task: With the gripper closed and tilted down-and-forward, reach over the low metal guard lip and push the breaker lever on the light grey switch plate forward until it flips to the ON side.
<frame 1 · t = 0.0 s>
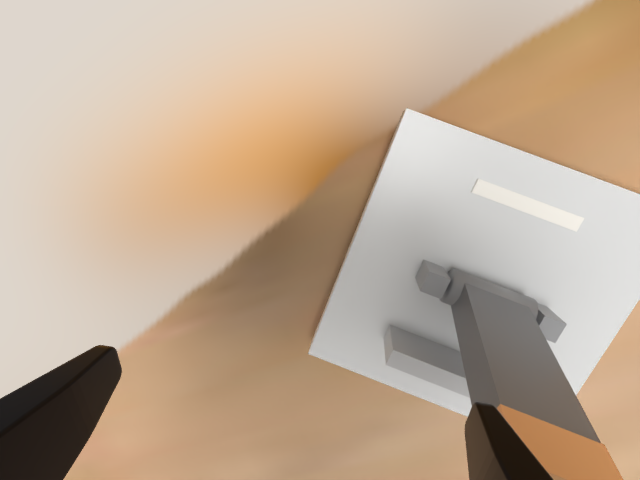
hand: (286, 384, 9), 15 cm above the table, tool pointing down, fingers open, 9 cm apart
switch plate: (471, 280, 24), on the table
breaker lever: (509, 361, 16), point 8 cm above the table, hinge at -12.0°
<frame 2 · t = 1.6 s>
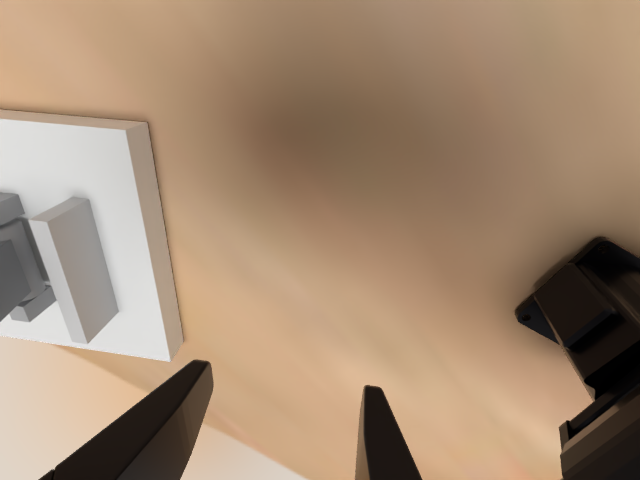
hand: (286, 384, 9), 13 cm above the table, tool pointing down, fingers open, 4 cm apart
switch plate: (54, 235, 25), on the table
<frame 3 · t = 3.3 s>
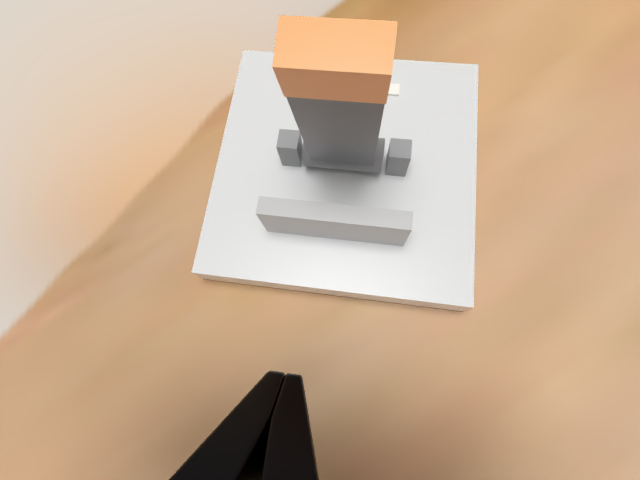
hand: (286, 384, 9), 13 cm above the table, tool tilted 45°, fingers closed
switch plate: (343, 176, 25), on the table
breaker lever: (340, 119, 17), point 8 cm above the table, hinge at -12.0°
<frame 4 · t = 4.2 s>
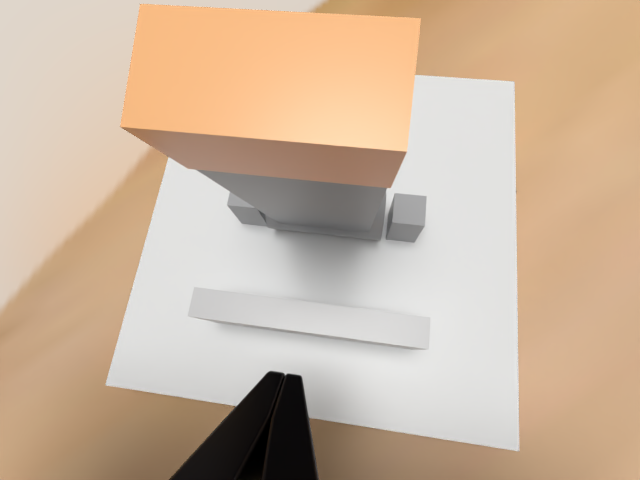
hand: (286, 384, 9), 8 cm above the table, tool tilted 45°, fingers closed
switch plate: (329, 233, 18), on the table
breaker lever: (314, 182, 10), point 8 cm above the table, hinge at -12.0°
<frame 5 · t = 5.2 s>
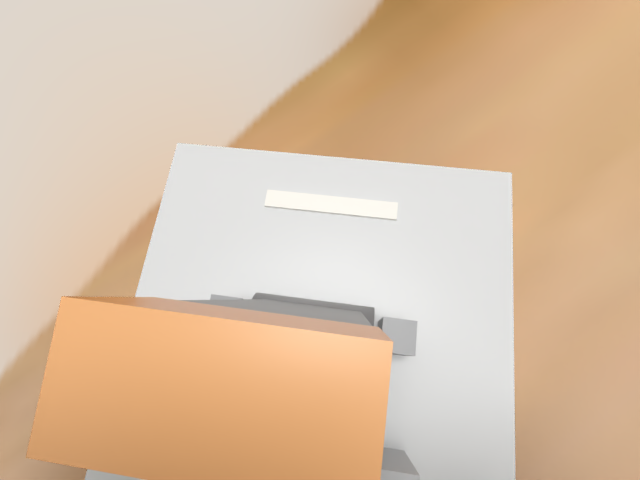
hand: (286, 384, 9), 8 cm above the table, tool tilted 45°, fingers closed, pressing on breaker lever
switch plate: (317, 330, 17), on the table
breaker lever: (292, 339, 10), point 8 cm above the table, hinge at -8.0°, touching gripper
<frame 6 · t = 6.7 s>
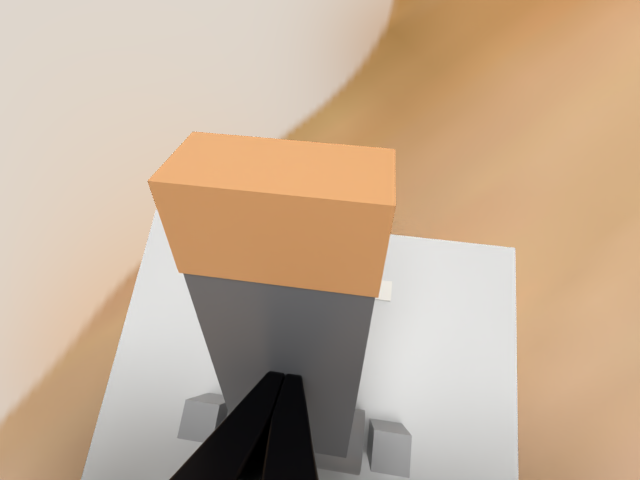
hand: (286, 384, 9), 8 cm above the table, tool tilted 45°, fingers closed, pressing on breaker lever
switch plate: (305, 416, 16), on the table
breaker lever: (291, 356, 10), point 7 cm above the table, hinge at 32.0°, touching gripper
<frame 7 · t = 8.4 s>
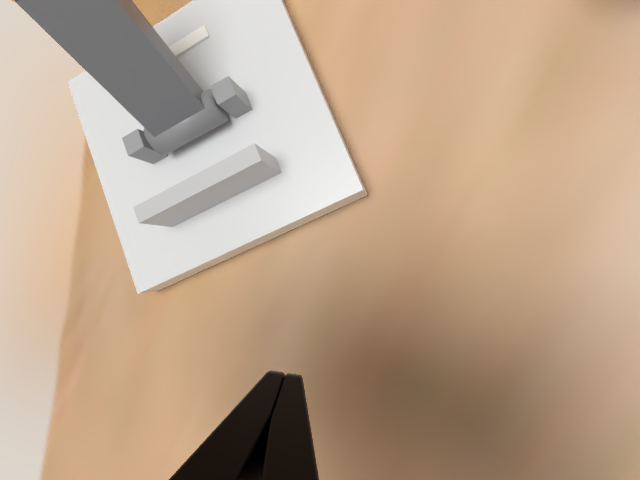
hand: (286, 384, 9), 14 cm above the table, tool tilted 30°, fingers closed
switch plate: (214, 138, 25), on the table
breaker lever: (122, 51, 19), point 7 cm above the table, hinge at 32.0°
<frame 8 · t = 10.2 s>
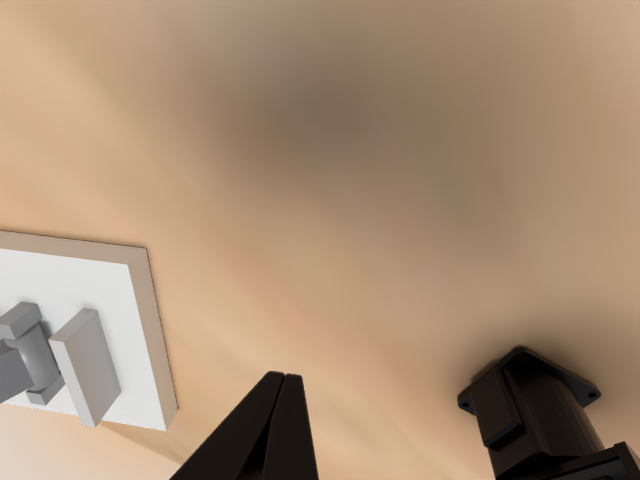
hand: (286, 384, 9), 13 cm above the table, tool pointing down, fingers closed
switch plate: (66, 325, 29), on the table
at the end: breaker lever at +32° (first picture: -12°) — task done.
